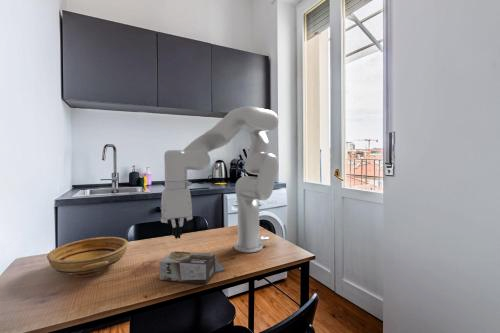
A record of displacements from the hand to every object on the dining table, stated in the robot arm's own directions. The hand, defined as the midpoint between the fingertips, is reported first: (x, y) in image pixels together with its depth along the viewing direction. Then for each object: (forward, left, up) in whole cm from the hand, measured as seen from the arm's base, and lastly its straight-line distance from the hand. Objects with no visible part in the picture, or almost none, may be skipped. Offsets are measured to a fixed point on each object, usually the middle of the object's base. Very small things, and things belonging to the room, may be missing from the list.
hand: (177, 237), depth 87 cm
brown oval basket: (+28, -14, -12) cm, 34 cm away
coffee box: (+4, +2, -8) cm, 10 cm away
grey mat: (-6, 0, -12) cm, 13 cm away
